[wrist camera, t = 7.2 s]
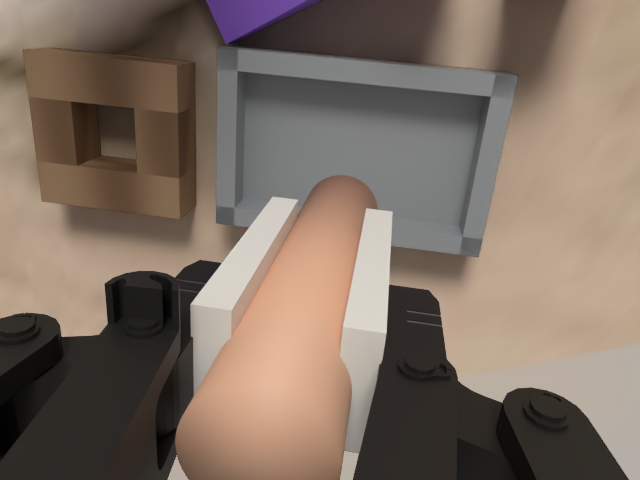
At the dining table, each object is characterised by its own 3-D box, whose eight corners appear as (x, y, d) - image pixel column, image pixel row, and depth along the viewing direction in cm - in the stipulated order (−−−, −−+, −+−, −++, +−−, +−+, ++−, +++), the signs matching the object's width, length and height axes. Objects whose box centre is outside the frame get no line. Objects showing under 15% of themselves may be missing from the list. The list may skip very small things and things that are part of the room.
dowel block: (67, 188, 32) (42, 201, 29) (52, 47, 29) (22, 49, 26) (196, 205, 31) (179, 219, 29) (194, 62, 28) (176, 65, 26)
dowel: (304, 239, 20) (178, 505, 9) (308, 171, 19) (172, 374, 8) (373, 247, 19) (334, 533, 8) (381, 179, 18) (349, 401, 7)
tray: (229, 209, 31) (216, 223, 29) (231, 45, 27) (217, 47, 25) (472, 240, 29) (478, 257, 27) (507, 71, 26) (518, 76, 24)
